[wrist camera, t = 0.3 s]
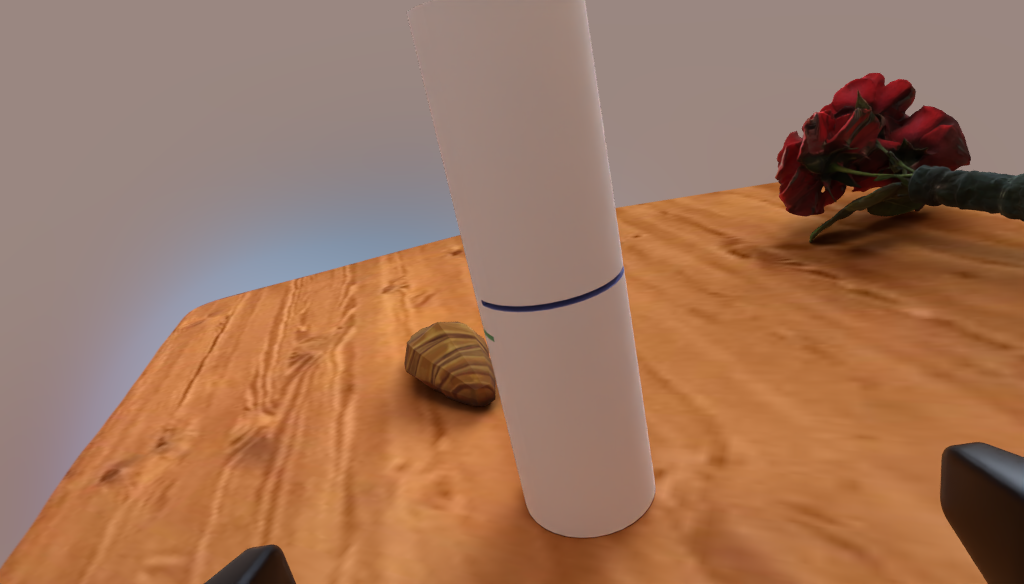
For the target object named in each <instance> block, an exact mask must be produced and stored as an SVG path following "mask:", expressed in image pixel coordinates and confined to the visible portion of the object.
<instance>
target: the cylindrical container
mask: <svg viewBox="0 0 1024 584" xmlns="http://www.w3.org/2000/svg"><path fill="white" fill-rule="evenodd" d="M407 17H408V21H409V25H410V29H411V33H412V37H413V41H414V46H415V49H416V54H417V58H418V62H419V66H420V70H421V74H422V78H423V83H424V86H425V91H426V95H427V99H428V103H429V107H430V111H431V115H432V119H433V123H434V128H435V132H436V136H437V140H438V144H439V148H440V152H441V156H442V160H443V164H444V169H445V172H446V177H447V181H448V185H449V189H450V193H451V197H452V201H453V206H454V210H455V214H456V218H457V222H458V226H459V230H460V234H461V238H462V242H463V247H464V251H465V255H466V259H467V263H468V267H469V271H470V275H471V279H472V284H473V288H474V292H475V296H476V300H477V304H478V308H479V312H480V316H481V320H482V324H483V328H484V333H485V337H486V341H487V345H488V349H489V353H490V357H491V362H492V366H493V370H494V374H495V378H496V382H497V386H498V390H499V395H500V399H501V403H502V407H503V411H504V415H505V419H506V423H507V428H508V432H509V436H510V440H511V444H512V448H513V452H514V456H515V461H516V465H517V469H518V473H519V477H520V481H521V485H522V489H523V494H524V498H525V502H526V506H527V508H528V511H529V513H530V515H531V516H532V517H533V519H534V520H535V521H536V522H537V523H538V524H540V525H541V526H542V527H544V528H545V529H547V530H549V531H551V532H553V533H556V534H560V535H564V536H568V537H578V538H586V537H598V536H602V535H607V534H611V533H614V532H616V531H619V530H621V529H624V528H625V527H627V526H629V525H631V524H632V523H634V522H635V521H636V520H638V519H639V518H640V517H641V516H642V515H643V514H644V513H645V512H646V511H647V509H648V508H649V507H650V505H651V503H652V501H653V499H654V494H655V480H654V473H653V466H652V459H651V452H650V445H649V438H648V431H647V424H646V417H645V410H644V403H643V396H642V389H641V382H640V375H639V368H638V362H637V355H636V348H635V341H634V334H633V327H632V321H631V314H630V307H629V300H628V293H627V287H626V280H625V273H624V266H623V259H622V252H621V245H620V238H619V231H618V224H617V217H616V210H615V204H614V197H613V190H612V182H611V176H610V168H609V161H608V155H607V147H606V140H605V134H604V127H603V120H602V113H601V106H600V99H599V92H598V86H597V79H596V72H595V65H594V59H593V52H592V45H591V38H590V31H589V24H588V18H587V11H586V4H585V0H433V1H430V2H427V3H424V4H421V5H419V6H417V7H414V8H412V9H410V10H408V12H407Z"/></svg>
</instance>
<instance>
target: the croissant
mask: <svg viewBox="0 0 1024 584" xmlns="http://www.w3.org/2000/svg"><path fill="white" fill-rule="evenodd" d="M404 364H405V369H406V372H408V373H409V374H411V375H412V376H414V377H415V378H417V379H418V380H420V381H421V382H423V383H424V384H426V385H427V386H429V387H430V388H432V389H434V390H435V391H438V392H441V393H443V394H444V395H445V396H446V397H447V398H449V399H452V400H455V401H458V402H461V403H464V404H467V405H473V406H484V405H488V404H490V403H491V402H492V401H493V400H495V382H496V378H495V374H494V370H493V366H492V362H491V359H490V358H489V349H488V347H487V345H486V342H485V340H484V338H482V337H481V336H480V335H478V334H477V333H476V332H475V331H473V330H472V329H471V328H470V327H468V326H467V325H466V324H463V323H460V322H437V323H435V324H432V325H431V326H429V327H426V328H423V329H421V330H419V331H418V332H417V333H415V334H414V335H412V336H411V339H410V340H409V341H408V342H407V348H406V356H405V363H404Z"/></svg>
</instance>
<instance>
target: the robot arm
mask: <svg viewBox="0 0 1024 584" xmlns="http://www.w3.org/2000/svg"><path fill="white" fill-rule="evenodd" d="M940 501H941V506H942V509H943V512H944V514H945V517H946V518H947V520H948V522H949V523H950V525H951V526H952V528H953V530H954V531H955V533H956V534H957V536H958V537H959V539H960V541H961V542H962V544H963V545H964V547H965V548H966V550H967V552H968V553H969V555H970V556H971V558H972V559H973V561H974V562H975V564H976V566H977V567H978V569H979V570H980V572H981V573H982V575H983V577H984V578H985V580H986V581H987V583H988V584H1024V457H1021V456H1018V455H1016V454H1013V453H1010V452H1007V451H1005V450H1002V449H999V448H996V447H994V446H991V445H988V444H985V443H981V442H974V443H967V444H960V445H953V446H949V447H947V448H946V449H945V450H944V452H943V454H942V463H941V489H940ZM204 584H296V583H295V580H294V578H293V575H292V573H291V570H290V568H289V566H288V563H287V561H286V558H285V556H284V554H283V552H282V550H281V549H280V548H279V547H278V546H277V545H266V546H259V547H253V548H249V549H247V550H245V551H244V552H243V553H242V554H240V555H239V556H238V557H237V558H235V559H234V560H233V561H232V562H230V563H229V564H228V565H227V566H225V567H224V568H223V569H222V570H221V571H219V572H218V573H217V574H216V575H214V576H213V577H212V578H211V579H209V580H208V581H207V582H206V583H204Z"/></svg>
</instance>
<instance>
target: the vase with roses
mask: <svg viewBox="0 0 1024 584" xmlns="http://www.w3.org/2000/svg"><path fill="white" fill-rule="evenodd" d="M884 82H885V78H884V76H883V75H882V74H880V73H869V74H868V75H866V76H864V77H863V78H861V79H855V80H853V81H851V82H849V83H848V84H846V85H845V86H844V87H843V88H841V89H840V90H839V91H838V92H836V94H835V95H834V98H833V101H832V103H831V104H829V105H826V106H825V107H823V108H822V109H821V111H820V112H819V113H817V112H815V113H814V114H813V115H812V116H811V117H810V118H808V119H807V121H806V122H805V123H804V125H803V127H802V130H803V132H804V135H803V138H801V137H799V136H798V133H797V131H794V132H792V133H790V134H789V136H788V137H787V139H786V140H785V143H784V146H783V149H782V150H781V151H780V152H779V154H778V157H777V161H778V162H779V163H778V172H777V174H776V176H775V178H776V179H777V180H779V181H778V182H779V183H780V184H781V186H780V193H779V194H780V195H779V197H780V199H781V200H782V201H783V202H784V204H785V206H786V207H787V208H786V211H788V212H789V213H792V214H795V215H800V216H810V215H818V214H822V213H823V212H824V206H826V205H829V204H832V203H834V202H836V201H837V200H838V199H839V198H841V196H842V195H843V194H844V192H845V189H846V185H847V186H851V187H854V190H852V192H854V191H862V192H865V191H867V190H868V189H870V188H874V187H882V188H879V189H877V190H875V191H874V192H873V193H870V194H869V195H867V196H863V197H860V198H858V199H856V200H854V201H852V202H851V203H850V204H848V205H847V206H845V208H843V209H842V210H840V211H839V212H838V213H837V214H836V215H835V216H834V217H832V219H830V220H828V221H826V222H825V223H824V224H822V225H821V226H820V227H818V228H817V229H816V230H815V231H814V232H812V233H811V235H810V241H809V242H810V243H811V242H812V241H813V239H814V238H815V237H816V236H817V235H818V234H819V233H820V232H821V231H823V230H824V229H825V228H827V227H829V226H831V225H832V224H833V223H834V222H836V221H837V220H839V219H843V218H846V217H847V216H849V215H851V214H852V213H853V212H855V211H856V210H859V211H861V210H864V209H866V208H867V210H868V212H869V213H870V214H873V215H877V216H895V215H900V214H904V213H907V212H910V211H912V210H915V212H917V211H919V210H920V209H921V208H922V207H923V206H924V205H925V204H926V205H929V206H939V205H941V204H943V205H945V206H950V207H959V208H960V209H967V210H977V211H985V212H989V213H992V214H994V213H1001V215H1003V216H1005V217H1007V218H1009V219H1020V220H1022V221H1024V174H1020V175H1018V176H1014V175H1007V174H997V173H991V172H979V171H971V172H969V171H962V170H956V169H957V168H959V167H961V166H965V165H969V164H970V160H971V157H970V154H969V151H968V148H967V145H966V140H965V137H964V135H963V133H962V131H961V128H960V126H959V124H958V122H957V121H956V120H955V119H954V118H952V117H951V116H949V115H947V114H946V113H944V112H943V111H942V110H939V109H937V108H935V107H930V106H923V107H922V108H921V109H919V111H916V112H915V113H914V114H912V115H911V116H910V117H909V116H907V115H906V114H905V111H906V110H907V109H908V108H909V106H910V105H911V104H912V103H913V101H914V99H915V93H916V91H915V89H914V88H913V87H912V84H911V83H910V82H908V81H907V80H904V79H903V80H902V79H898V80H896V81H893V82H890V83H889V84H888V85H886V86H885V85H884ZM955 170H956V171H955ZM823 186H824V187H825V191H824V192H823V193H822V192H821V190H822V187H823Z"/></svg>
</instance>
